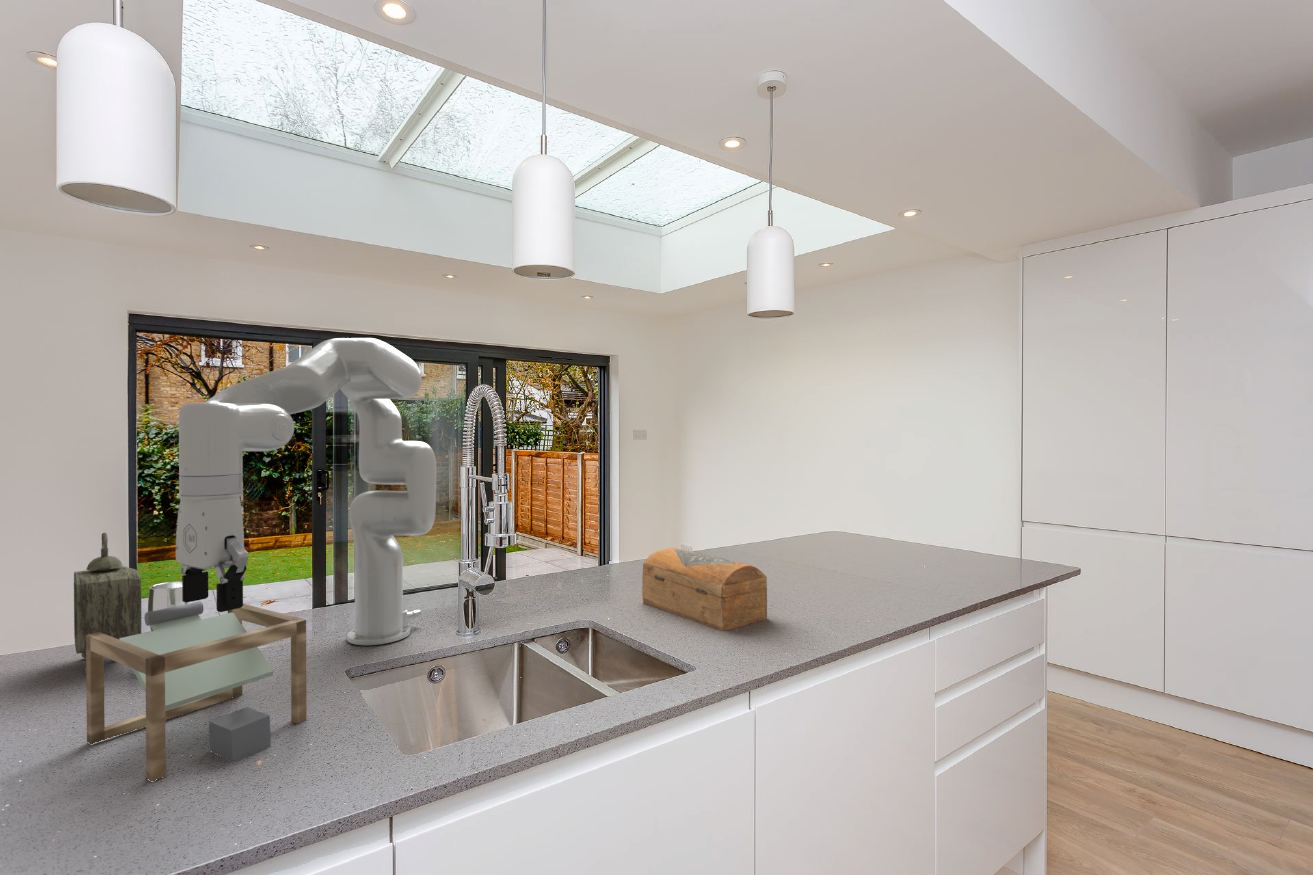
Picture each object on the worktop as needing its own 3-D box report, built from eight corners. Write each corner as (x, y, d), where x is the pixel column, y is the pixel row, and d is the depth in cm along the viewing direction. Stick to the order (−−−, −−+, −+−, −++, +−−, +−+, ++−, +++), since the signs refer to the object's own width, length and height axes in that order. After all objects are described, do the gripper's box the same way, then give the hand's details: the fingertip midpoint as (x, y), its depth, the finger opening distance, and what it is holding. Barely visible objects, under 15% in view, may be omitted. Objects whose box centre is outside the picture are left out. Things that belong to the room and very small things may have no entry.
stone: (246, 706, 92) (269, 715, 89) (248, 740, 92) (270, 750, 89) (208, 721, 88) (231, 730, 85) (209, 756, 88) (232, 767, 85)
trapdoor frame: (237, 692, 107) (237, 601, 107) (306, 719, 97) (306, 619, 97) (86, 743, 90) (85, 634, 90) (151, 782, 80) (150, 660, 80)
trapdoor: (222, 604, 104) (226, 593, 104) (272, 675, 97) (276, 663, 97) (109, 629, 91) (113, 616, 91) (157, 713, 84) (161, 699, 84)
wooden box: (771, 619, 150) (771, 561, 150) (721, 632, 140) (721, 570, 140) (689, 593, 174) (689, 543, 173) (641, 603, 164) (641, 550, 163)
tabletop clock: (74, 658, 123) (73, 531, 123) (134, 647, 130) (133, 526, 129) (77, 679, 113) (76, 540, 113) (142, 665, 119) (141, 534, 119)
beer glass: (140, 671, 117) (140, 590, 116) (159, 658, 123) (158, 581, 123) (184, 667, 118) (183, 588, 118) (200, 654, 125) (199, 579, 125)
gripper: (153, 486, 92) (153, 602, 92) (213, 492, 84) (214, 620, 84) (210, 483, 99) (210, 591, 99) (271, 488, 90) (272, 607, 90)
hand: (212, 604), depth 91 cm, fingers open, 9 cm apart
